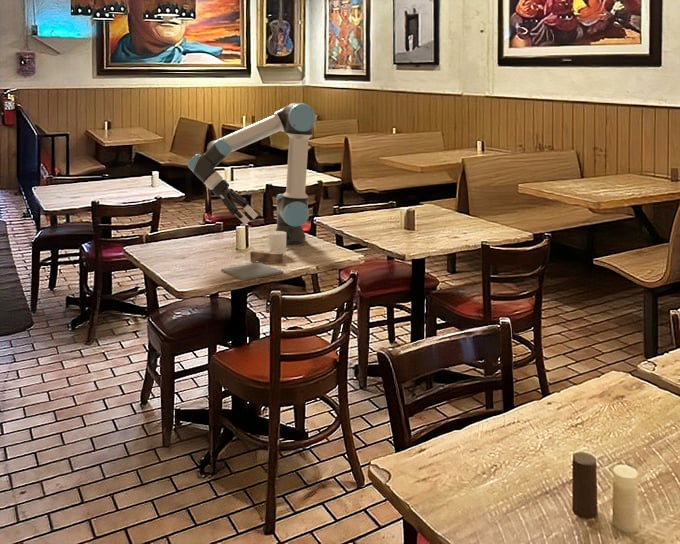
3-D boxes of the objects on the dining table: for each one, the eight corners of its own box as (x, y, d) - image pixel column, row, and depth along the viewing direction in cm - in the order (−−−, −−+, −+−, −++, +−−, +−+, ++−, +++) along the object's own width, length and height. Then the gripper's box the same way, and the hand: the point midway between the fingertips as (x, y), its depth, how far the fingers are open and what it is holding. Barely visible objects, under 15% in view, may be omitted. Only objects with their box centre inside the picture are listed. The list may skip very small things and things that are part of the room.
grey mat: (259, 264, 314) (259, 262, 314) (283, 273, 300) (282, 271, 300) (221, 270, 304) (221, 269, 303) (243, 280, 290) (243, 278, 289)
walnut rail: (250, 261, 319) (250, 252, 318) (252, 260, 321) (252, 251, 320) (281, 263, 315) (281, 254, 314) (283, 262, 317) (282, 253, 316)
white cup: (266, 254, 332) (265, 231, 330) (283, 252, 335) (283, 230, 333) (272, 257, 325) (271, 235, 323) (289, 256, 328) (288, 233, 326)
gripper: (220, 186, 339) (253, 220, 341) (202, 194, 316) (238, 231, 317) (231, 175, 337) (264, 209, 339) (214, 182, 313) (249, 219, 315)
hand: (251, 220), depth 328 cm, fingers open, 13 cm apart
